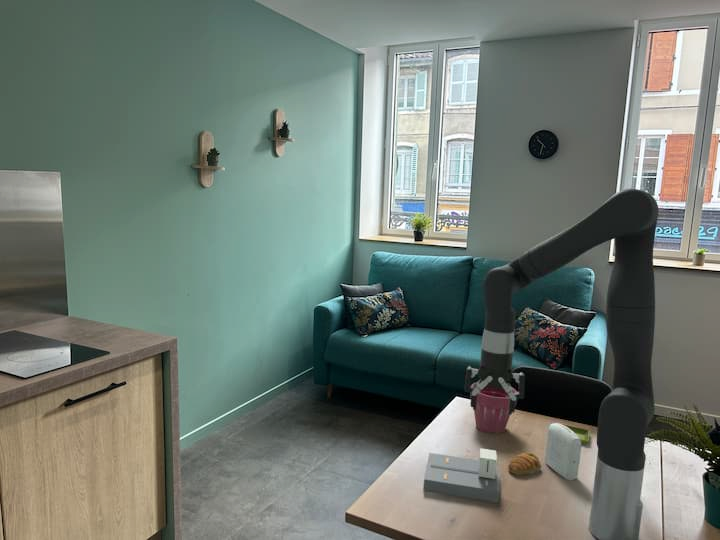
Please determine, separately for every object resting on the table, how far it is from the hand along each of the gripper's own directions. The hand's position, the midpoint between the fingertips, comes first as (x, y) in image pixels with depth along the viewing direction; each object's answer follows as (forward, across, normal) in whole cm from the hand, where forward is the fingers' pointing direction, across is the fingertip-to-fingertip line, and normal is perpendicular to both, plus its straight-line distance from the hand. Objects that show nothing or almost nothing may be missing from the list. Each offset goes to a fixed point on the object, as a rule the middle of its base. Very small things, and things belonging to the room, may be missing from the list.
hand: (492, 411), depth 132 cm
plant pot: (+20, +2, +36) cm, 41 cm away
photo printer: (+20, +20, +14) cm, 32 cm away
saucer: (+20, +27, +37) cm, 50 cm away
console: (+20, -6, 0) cm, 21 cm away
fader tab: (+16, 0, 0) cm, 16 cm away
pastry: (+20, +10, +12) cm, 26 cm away
